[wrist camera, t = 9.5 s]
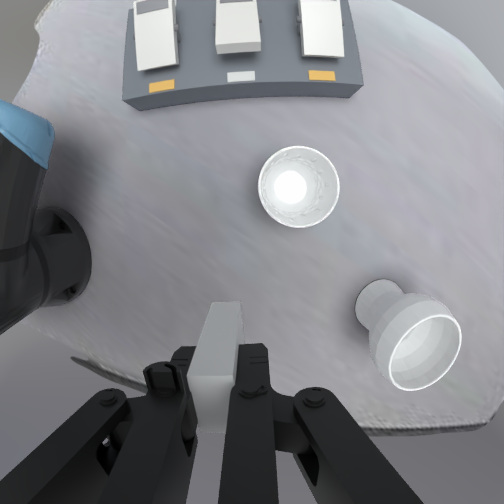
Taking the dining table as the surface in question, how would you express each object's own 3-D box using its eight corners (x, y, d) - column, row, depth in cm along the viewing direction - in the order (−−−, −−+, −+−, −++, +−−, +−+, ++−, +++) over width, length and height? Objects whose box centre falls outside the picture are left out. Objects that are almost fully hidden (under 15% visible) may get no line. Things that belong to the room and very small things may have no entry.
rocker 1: (139, 71, 28) (133, 71, 27) (134, 5, 24) (129, 2, 22) (182, 63, 28) (179, 62, 27) (178, -5, 24) (174, -9, 22)
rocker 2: (213, 54, 26) (211, 44, 24) (214, 4, 26) (212, -6, 24) (264, 51, 26) (264, 40, 24) (258, 1, 26) (258, -9, 24)
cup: (357, 347, 43) (393, 409, 28) (335, 289, 41) (372, 341, 26) (416, 316, 42) (468, 364, 27) (399, 256, 40) (460, 290, 25)
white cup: (253, 212, 39) (252, 222, 29) (261, 151, 37) (263, 139, 27) (313, 221, 39) (333, 233, 29) (322, 161, 37) (344, 153, 27)
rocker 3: (298, 56, 28) (300, 54, 26) (293, -12, 23) (295, -17, 22) (343, 58, 28) (348, 56, 26) (337, -9, 23) (342, -13, 22)
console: (138, 111, 36) (114, 97, 28) (141, 28, 33) (122, 4, 25) (349, 97, 35) (369, 80, 27) (335, 15, 32) (349, -13, 24)
